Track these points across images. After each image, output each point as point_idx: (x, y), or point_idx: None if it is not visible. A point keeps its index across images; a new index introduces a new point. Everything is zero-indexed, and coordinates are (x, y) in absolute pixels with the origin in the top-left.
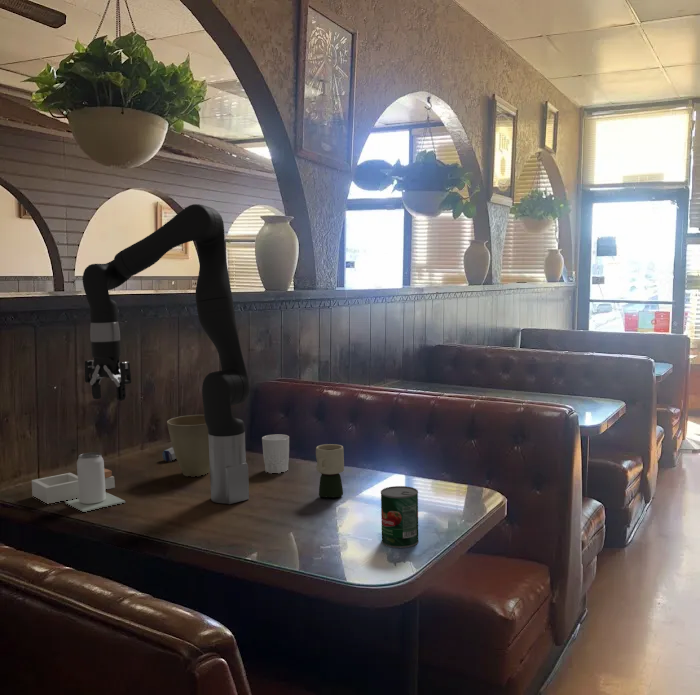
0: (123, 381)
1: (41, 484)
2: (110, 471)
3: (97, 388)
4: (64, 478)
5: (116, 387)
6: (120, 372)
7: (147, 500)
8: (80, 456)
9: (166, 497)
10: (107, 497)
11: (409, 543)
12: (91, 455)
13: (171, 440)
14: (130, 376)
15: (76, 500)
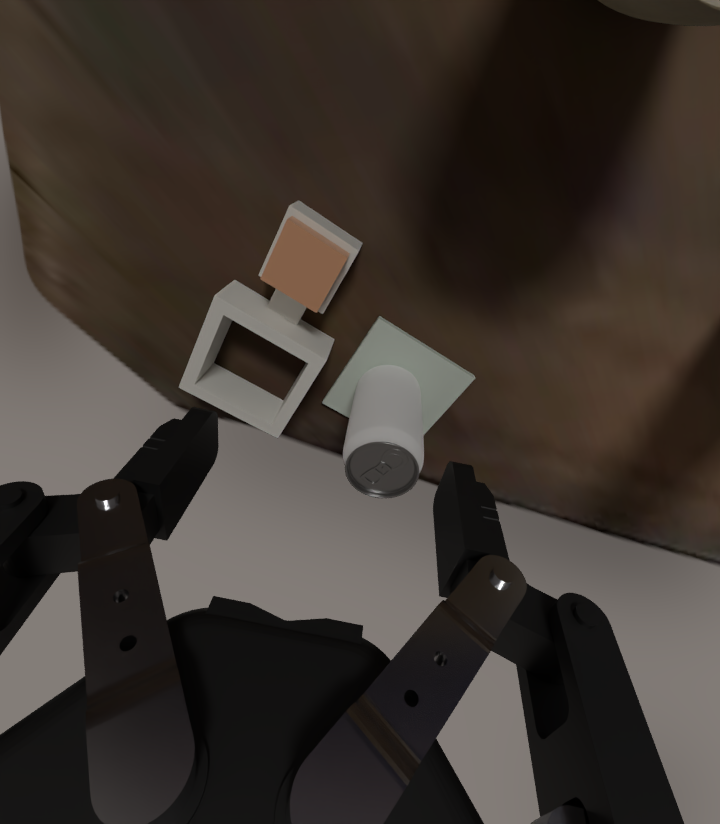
0: (547, 679)
1: (239, 416)
2: (345, 261)
3: (178, 491)
4: (223, 319)
5: (441, 592)
6: (538, 797)
7: (528, 345)
8: (348, 469)
9: (579, 310)
10: (410, 360)
11: None
12: (383, 465)
13: None
14: (629, 688)
15: (343, 392)
